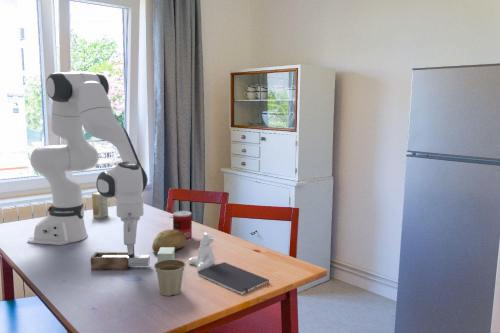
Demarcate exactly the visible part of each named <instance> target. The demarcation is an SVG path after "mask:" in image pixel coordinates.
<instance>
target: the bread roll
mask: <svg viewBox="0 0 500 333" xmlns="http://www.w3.org/2000/svg"><path fill="white" fill-rule="evenodd" d="M187 241H188V240H186V235H185V234H184V233H183V232H181V231H178V230H173V228H172V229H166V230H165V229H164V230H163V231H160V232H159V233H158V234H157V235H156V236H155V238H154V239H153V242H152V246H151V247H152V251H153V252H154V253H155V254H157V253H158V251H159V249H160V247H175V250H178V249H181V248H183V247H185V246H186V245H187Z"/></svg>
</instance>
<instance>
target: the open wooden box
mask: <svg viewBox="0 0 500 333" xmlns="http://www.w3.org/2000/svg"><path fill="white" fill-rule="evenodd" d="M103 255H128V251H125V252H124V251H123V252H122V251H121V252H119V251H117V252H116V251H111V252H110V251H107V252H106V251H105V252H102V251H99V252H98V251H97V252H96V251H95V252H94V253H93V254H92V256H91V257H90V271H128V269H129V268H130V266H127V257H102V256H103Z"/></svg>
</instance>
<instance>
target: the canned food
mask: <svg viewBox="0 0 500 333" xmlns="http://www.w3.org/2000/svg"><path fill="white" fill-rule="evenodd" d="M192 216H193V215H192V212H191V211H188V210H178V211H175V212H173V214H172V229H173V230H178V231H181V232H183V233H184V234H185V235H186V240H187V241H190V240H192V236H193V234H192V232H193V229H192V228H193V226H192V225H193V220H192Z"/></svg>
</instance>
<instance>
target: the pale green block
mask: <svg viewBox="0 0 500 333" xmlns="http://www.w3.org/2000/svg"><path fill="white" fill-rule="evenodd" d="M156 255H157V262H159V261H162V260H168V259H176V249H175V247H160V249H159V251H158V253H156ZM157 262H156V263H157Z"/></svg>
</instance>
